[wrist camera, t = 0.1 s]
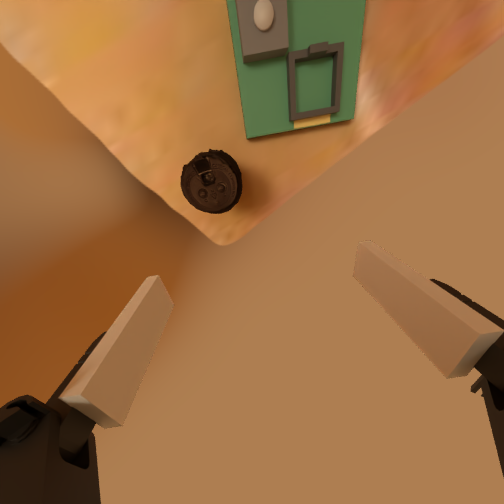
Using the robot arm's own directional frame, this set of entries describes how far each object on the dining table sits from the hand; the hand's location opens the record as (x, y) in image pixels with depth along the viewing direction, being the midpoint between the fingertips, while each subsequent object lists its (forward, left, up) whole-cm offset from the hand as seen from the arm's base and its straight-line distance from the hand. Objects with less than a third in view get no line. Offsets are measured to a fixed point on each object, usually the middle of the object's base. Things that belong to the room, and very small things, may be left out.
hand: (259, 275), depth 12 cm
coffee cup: (-4, -4, -28) cm, 29 cm away
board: (-17, +11, -28) cm, 34 cm away
